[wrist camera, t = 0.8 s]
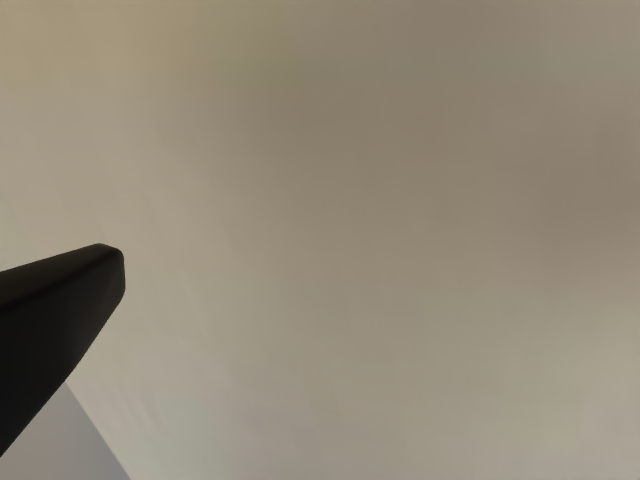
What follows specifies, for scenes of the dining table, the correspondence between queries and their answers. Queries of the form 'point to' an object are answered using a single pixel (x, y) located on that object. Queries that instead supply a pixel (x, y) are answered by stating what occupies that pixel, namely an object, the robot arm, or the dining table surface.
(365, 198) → the dining table surface
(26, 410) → the robot arm
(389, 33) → the dining table surface
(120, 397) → the dining table surface
